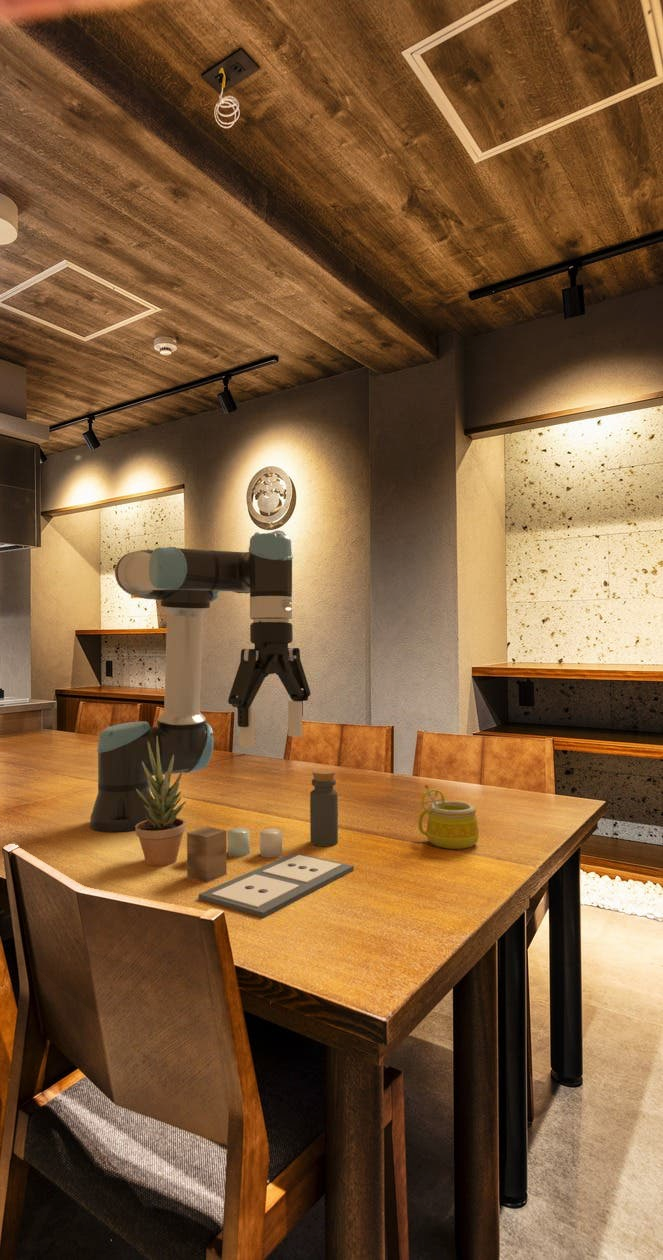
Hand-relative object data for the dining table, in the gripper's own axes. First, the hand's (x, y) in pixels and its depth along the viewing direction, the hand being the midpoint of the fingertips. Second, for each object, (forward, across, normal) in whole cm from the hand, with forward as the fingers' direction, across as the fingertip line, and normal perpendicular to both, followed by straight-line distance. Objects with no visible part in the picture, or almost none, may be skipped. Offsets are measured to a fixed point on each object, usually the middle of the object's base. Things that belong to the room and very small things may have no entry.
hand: (272, 741), depth 120 cm
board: (+25, 0, -1) cm, 25 cm away
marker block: (+25, -4, +13) cm, 28 cm away
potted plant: (+25, -2, +26) cm, 36 cm away
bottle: (+25, +25, +6) cm, 36 cm away
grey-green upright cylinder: (+25, +10, +17) cm, 32 cm away
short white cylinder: (+25, +12, +11) cm, 30 cm away
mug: (+25, +38, -16) cm, 49 cm away
